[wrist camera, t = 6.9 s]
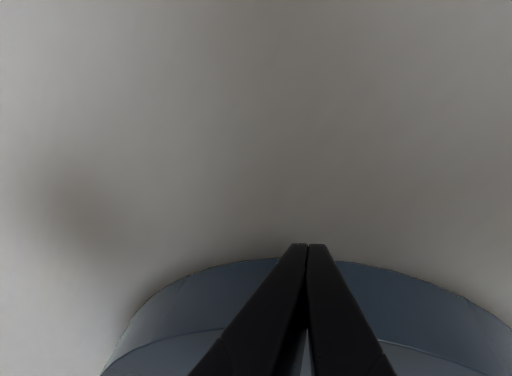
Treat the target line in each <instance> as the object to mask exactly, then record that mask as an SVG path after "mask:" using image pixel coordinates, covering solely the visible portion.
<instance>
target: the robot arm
mask: <svg viewBox="0 0 512 376" xmlns="http://www.w3.org/2000/svg"><path fill="white" fill-rule="evenodd" d="M307 326H308V344H309V355H310V367H311V376H398V375H397V374H396V372H395V370H394V368H393V367H392V365H391V363H390V361H389V359H388V358H387V356H386V354H384V351H383V349H382V347H381V345H380V343H379V342H378V340H377V338H376V336H375V334H374V332H373V331H372V329H371V327H370V325H369V323H368V321H367V320H366V318H365V316H364V314H363V312H362V311H361V309H360V307H359V305H358V303H357V301H356V300H355V298H354V296H353V294H352V292H351V290H350V289H349V287H348V285H347V283H346V281H345V280H344V278H343V276H342V274H341V272H340V270H339V269H338V267H337V265H336V263H335V261H334V259H333V258H332V256H331V254H330V252H329V250H328V249H327V247H326V245H324V244H310V245H309V247H308V244H305V243H293V244H291V245H290V247H289V248H288V249H287V250H286V252H285V253H284V254H283V256H282V257H281V258H280V259H279V261H278V262H277V263H276V265H275V266H274V267H273V268H272V270H271V271H270V272H269V273H268V275H267V276H266V277H265V279H264V280H263V281H262V282H261V284H260V285H259V286H258V288H257V289H256V290H255V291H254V293H253V294H252V295H251V296H250V298H249V299H248V300H247V302H246V303H245V304H244V305H243V307H242V308H241V309H240V311H239V312H238V313H237V314H236V316H235V317H234V318H233V319H232V321H231V322H230V323H229V325H228V326H227V327H226V328H225V330H224V331H223V332H222V334H221V335H220V338H217V340H216V341H215V342H214V344H213V345H212V346H211V347H210V349H209V350H208V351H207V352H206V354H205V355H204V356H203V357H202V358H201V360H200V361H199V362H198V363H197V364H196V366H195V367H194V368H193V369H192V370H191V371H190V373H189V374H188V375H187V376H300V372H301V366H302V360H303V354H304V348H305V342H306V335H307Z"/></svg>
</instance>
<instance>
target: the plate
mask: <svg viewBox="0 0 512 376" xmlns="http://www.w3.org/2000/svg"><path fill="white" fill-rule="evenodd" d="M279 259H280V258H272V259H260V260H249V261H242V262H237V263H232V264H227V265H221V266H216V267H213V268H210V269H207V270H204V271H201V272H198V273H194V274H191V275H188V276H186V277H184V278H182V279H180V280H178V281H176V282H174V283H172V284H170V285H168V286H166V287H165V288H163V289H162V290H161V291H159V292H158V293H157V294H155V295H154V296H152V297H151V298H150V299H148V300H147V301H146V302H145V303H144V305H143V306H142V307H141V308H140V309H139V310H138V311H137V312H136V313H135V315H134V317H133V318H132V320H131V322H130V323H129V325H128V327H127V328H126V330H125V332H124V334H123V335H122V337H121V339H120V341H119V342H118V344H117V346H116V348H115V349H114V351H113V353H112V355H111V356H110V358H109V360H108V362H107V363H106V365H105V367H104V369H103V370H102V372H101V374H100V376H187V375H188V374H189V373H190V371H191V370H192V369H193V368H194V367H195V366H196V364H197V363H198V362H199V361H200V360H201V358H202V357H203V356H204V355H205V354H206V352H207V351H208V350H209V349H210V347H211V346H212V345H213V344H214V342H215V341H216V340H217V338H220V335H221V334H222V332H223V331H224V330H225V328H226V327H227V326H228V325H229V323H230V322H231V321H232V319H233V318H234V317H235V316H236V314H237V313H238V312H239V311H240V309H241V308H242V307H243V305H244V304H245V303H246V302H247V300H248V299H249V298H250V296H251V295H252V294H253V293H254V291H255V290H256V289H257V288H258V286H259V285H260V284H261V282H262V281H263V280H264V279H265V277H266V276H267V275H268V273H269V272H270V271H271V270H272V268H273V267H274V266H275V265H276V263H277V262H278V261H279ZM335 263H336V265H337V267H338V269H339V270H340V272H341V274H342V276H343V278H344V280H345V281H346V283H347V285H348V287H349V289H350V290H351V292H352V294H353V296H354V298H355V300H356V301H357V303H358V305H359V307H360V309H361V311H362V312H363V314H364V316H365V318H366V320H367V321H368V323H369V325H370V327H371V329H372V331H373V332H374V334H375V336H376V338H377V340H378V342H379V343H380V345H381V347H382V349H383V351H384V354H386V356H387V358H388V359H389V361H390V363H391V365H392V367H393V368H394V370H395V372H396V374H397V375H398V376H512V330H511V329H510V328H509V327H508V326H506V325H505V324H504V323H502V322H501V321H500V320H499V319H497V318H496V317H495V316H494V315H492V314H491V313H489V312H487V311H485V310H484V309H482V308H480V307H479V306H477V305H475V304H474V303H472V302H470V301H469V300H467V299H465V298H463V297H461V296H459V295H457V294H454V293H452V292H450V291H448V290H445V289H443V288H441V287H438V286H436V285H434V284H432V283H429V282H426V281H423V280H420V279H417V278H414V277H410V276H407V275H404V274H401V273H398V272H395V271H391V270H386V269H381V268H377V267H372V266H367V265H363V264H358V263H352V262H343V261H335ZM300 376H311V367H310V355H309V344H308V326H307V335H306V342H305V348H304V354H303V360H302V366H301V372H300Z"/></svg>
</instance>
